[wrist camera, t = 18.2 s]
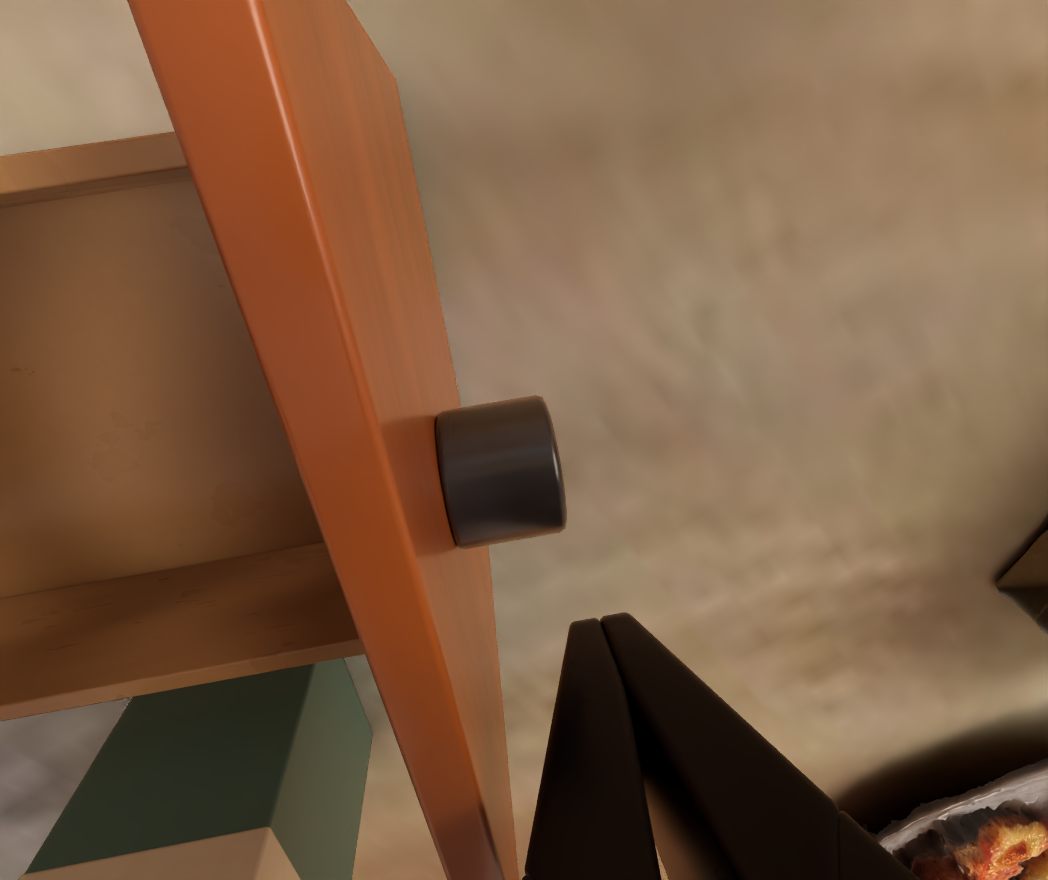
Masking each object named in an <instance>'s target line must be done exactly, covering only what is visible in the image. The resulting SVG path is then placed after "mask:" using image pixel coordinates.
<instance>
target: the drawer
mask: <svg viewBox="0 0 1048 880" xmlns="http://www.w3.org/2000/svg"><path fill="white" fill-rule="evenodd" d="M127 1H128V4H129V7H130V9H131V12H132V15H133V18H134V20H135V23H136V26H137V29H138V31H139V34H140V37H141V40H142V42H143V45H144V48H145V51H146V53H147V56H148V59H149V62H150V64H151V67H152V70H153V72H154V75H155V78H156V81H157V83H158V86H159V89H160V92H161V94H162V97H163V100H164V103H165V105H166V108H167V111H168V114H169V116H170V119H171V122H172V125H173V127H174V130H175V132H168V133H161V134H154V135H147V136H140V137H132V138H125V139H118V140H111V141H104V142H97V143H90V144H83V145H76V146H69V147H62V148H55V149H48V150H41V151H34V152H27V153H20V154H13V155H6V156H0V721H5V720H10V719H16V718H21V717H26V716H32V715H37V714H43V713H48V712H53V711H59V710H64V709H70V708H75V707H81V706H86V705H91V704H97V703H102V702H108V701H113V700H118V699H124V698H129V697H135V696H140V695H145V694H151V693H156V692H162V691H167V690H172V689H178V688H183V687H189V686H194V685H199V684H205V683H210V682H216V681H221V680H227V679H232V678H237V677H243V676H248V675H254V674H259V673H264V672H270V671H275V670H281V669H286V668H291V667H297V666H302V665H308V664H313V663H318V662H324V661H329V660H335V659H340V658H345V657H351V656H356V655H362V654H365V655H366V657H367V660H368V663H369V666H370V668H371V671H372V674H373V677H374V679H375V682H376V685H377V688H378V690H379V693H380V696H381V699H382V701H383V704H384V707H385V710H386V712H387V715H388V718H389V721H390V723H391V726H392V729H393V732H394V734H395V737H396V740H397V743H398V745H399V748H400V751H401V753H402V756H403V759H404V762H405V764H406V767H407V770H408V773H409V775H410V778H411V781H412V784H413V786H414V789H415V792H416V795H417V797H418V800H419V803H420V806H421V808H422V811H423V814H424V817H425V819H426V822H427V825H428V828H429V830H430V833H431V836H432V839H433V841H434V844H435V847H436V850H437V852H438V855H439V858H440V861H441V863H442V866H443V869H444V872H445V874H446V877H447V880H519V876H518V865H517V854H516V843H515V832H514V821H513V810H512V799H511V788H510V777H509V767H508V756H507V745H506V734H505V723H504V712H503V701H502V690H501V679H500V668H499V657H498V646H497V635H496V625H495V614H494V603H493V592H492V581H491V570H490V559H489V548H488V545H492V544H498V543H503V542H509V541H515V540H520V539H526V538H532V537H537V536H543V535H548V534H554V533H560V532H561V531H563V530H564V529H565V527H566V522H567V508H566V497H565V489H564V482H563V475H562V469H561V463H560V457H559V452H558V447H557V442H556V437H555V432H554V428H553V424H552V420H551V416H550V413H549V410H548V407H547V405H546V403H545V401H544V399H543V398H542V397H540V396H536V395H535V396H529V397H523V398H517V399H511V400H505V401H499V402H493V403H487V404H481V405H475V406H469V407H463V408H461V404H460V399H459V394H458V389H457V384H456V379H455V374H454V369H453V364H452V359H451V354H450V348H449V343H448V338H447V333H446V328H445V323H444V318H443V313H442V308H441V303H440V298H439V293H438V288H437V283H436V278H435V273H434V268H433V263H432V258H431V253H430V248H429V243H428V238H427V233H426V228H425V223H424V218H423V213H422V208H421V203H420V198H419V193H418V188H417V183H416V178H415V173H414V168H413V163H412V158H411V153H410V148H409V143H408V138H407V133H406V128H405V123H404V118H403V113H402V108H401V103H400V98H399V93H398V88H397V83H396V79H395V77H394V75H393V74H392V72H391V71H390V69H389V68H388V66H387V64H386V63H385V61H384V60H383V58H382V57H381V55H380V53H379V52H378V50H377V49H376V47H375V46H374V44H373V42H372V41H371V39H370V38H369V36H368V35H367V33H366V31H365V30H364V28H363V27H362V25H361V24H360V22H359V20H358V19H357V17H356V16H355V14H354V13H353V11H352V9H351V8H350V6H349V5H348V3H347V2H346V0H127Z"/></svg>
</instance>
